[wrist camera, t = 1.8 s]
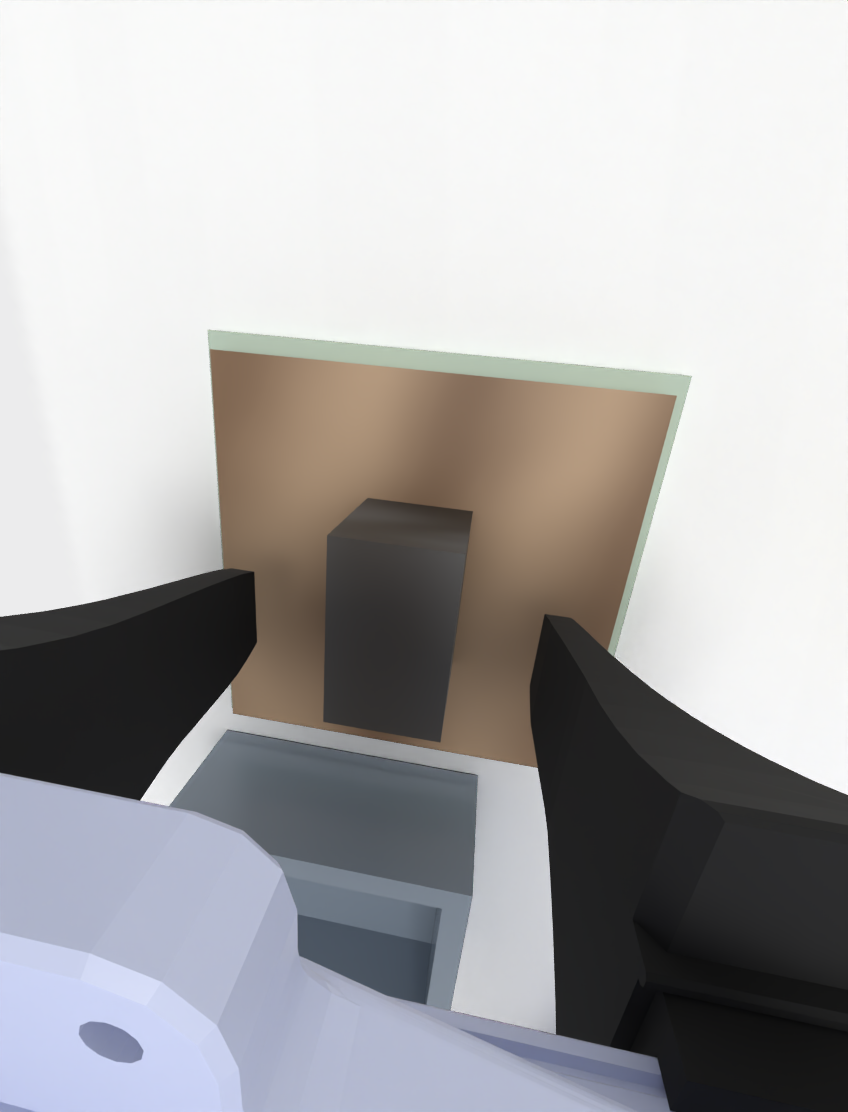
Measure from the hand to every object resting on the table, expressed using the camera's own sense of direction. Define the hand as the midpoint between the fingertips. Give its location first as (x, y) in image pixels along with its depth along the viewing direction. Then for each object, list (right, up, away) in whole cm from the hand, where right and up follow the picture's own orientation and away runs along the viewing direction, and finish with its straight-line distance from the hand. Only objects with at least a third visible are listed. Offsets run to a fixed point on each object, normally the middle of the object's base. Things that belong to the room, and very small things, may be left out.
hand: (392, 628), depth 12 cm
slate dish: (-3, -10, +9) cm, 14 cm away
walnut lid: (+1, +1, +3) cm, 4 cm away
